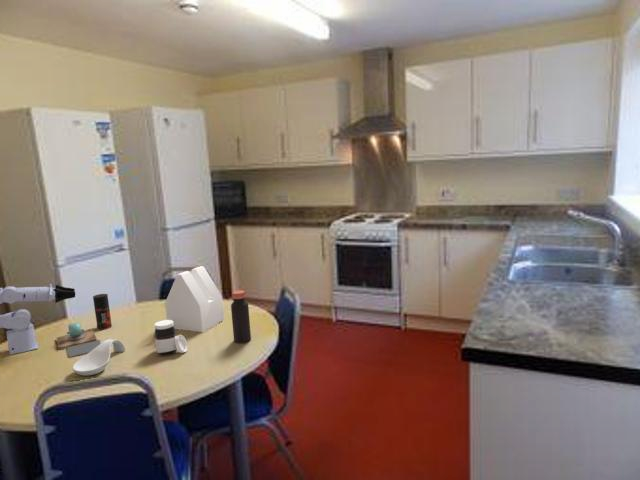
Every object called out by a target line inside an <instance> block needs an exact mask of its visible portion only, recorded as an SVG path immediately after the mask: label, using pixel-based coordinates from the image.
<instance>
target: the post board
mask: <svg viewBox="0 0 640 480" xmlns="http://www.w3.org/2000/svg"><path fill="white" fill-rule="evenodd" d="M97 340H98V339H97V337H96V334H95V332H94V329H91V330H85V331H82V333H81V334H79V335H76V336H70V335H69V334H66V335H63V336H58V337H56V342H57V343H56V344H57V349H58V351H60V350H65V349H66V350H67V347H70V346H75V345H79V344H84V343H88V342H92V341H97Z"/></svg>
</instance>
